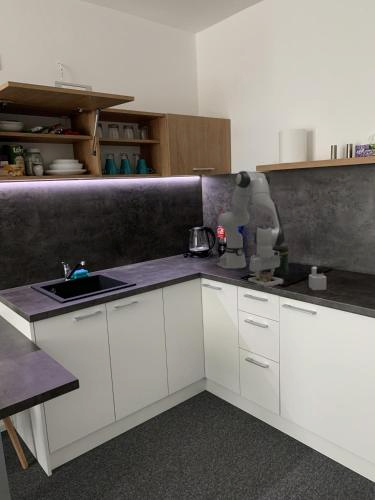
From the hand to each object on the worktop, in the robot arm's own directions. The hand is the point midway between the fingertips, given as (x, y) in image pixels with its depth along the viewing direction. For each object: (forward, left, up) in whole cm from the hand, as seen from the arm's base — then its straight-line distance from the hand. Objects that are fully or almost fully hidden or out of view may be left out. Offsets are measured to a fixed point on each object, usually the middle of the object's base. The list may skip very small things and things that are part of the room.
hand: (264, 276), depth 225 cm
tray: (+1, 0, -4) cm, 4 cm away
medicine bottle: (+27, +14, -4) cm, 30 cm away
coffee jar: (-8, +20, -4) cm, 22 cm away
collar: (0, 0, -3) cm, 3 cm away
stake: (-13, +8, -4) cm, 16 cm away
